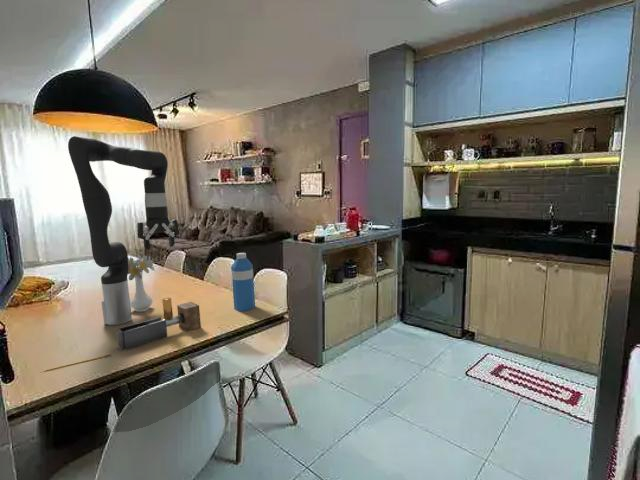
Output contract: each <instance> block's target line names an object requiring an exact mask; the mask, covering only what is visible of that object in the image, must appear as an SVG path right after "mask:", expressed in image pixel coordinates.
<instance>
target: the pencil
mask: <svg viewBox="0 0 640 480" xmlns="http://www.w3.org/2000/svg"><path fill="white" fill-rule="evenodd" d="M112 356H113V354H112V353H111V354H106V355H103V356H99V357H95V358H91V359H87V360H86V359H85V360H82V361H78V362H75V363H69V364H66V365H61V366H57V367H53V368H49V369H46V370H43V371H40V372H39V373H46V372H50V371H55V370H58V369H59V370H60V369H61V368H62V369H63V368H67V367H71V366H74V365H79V364H83V363H88V362H92V361H96V360H100V359H104V358H108V357H112Z"/></svg>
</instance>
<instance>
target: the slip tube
mask: <svg viewBox="0 0 640 480" xmlns="http://www.w3.org/2000/svg"><path fill="white" fill-rule="evenodd" d="M161 302H162V308H163V309H162V310H163V319H161V320H160V321H162V320H166V327H172V326H174V325H179V323H182V322H184V315H183V314H181V315H178V314H177V315H175V316H174V314H173V304H172V303H173V302H172V298H171V297H165V298H163V299H162V301H161ZM156 322H159V321H156ZM153 323H155V322H153ZM149 324H152V323H149Z"/></svg>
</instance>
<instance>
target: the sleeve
mask: <svg viewBox="0 0 640 480" xmlns="http://www.w3.org/2000/svg"><path fill="white" fill-rule="evenodd" d="M160 320H162V321H160ZM156 321H159V322H156ZM153 322H155V323H153ZM149 323H152V324H149ZM116 333H117V340H118V348H119V349H120V350H121V351H128V350H131V349H134V348H137V347H141V346H144V345H148V344H150V343H153V342H157V341H159V340H162V339H166V338H168V328H167V327H166V320H163V319H162V317H161V316H159V317H153V318H151V319H148V320H145V321H141V322H136V323H133V324H130V325H126V326H121V327H119V328H118V329H116Z"/></svg>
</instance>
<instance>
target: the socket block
mask: <svg viewBox="0 0 640 480" xmlns="http://www.w3.org/2000/svg"><path fill="white" fill-rule="evenodd" d="M176 308H177V316H178V315H181V314H183V315H184V322H182V323H178V327H179V329H181V330H183V331H185V332H190V331H193V330H197V329H200V328H202V325H201V323H202V322H201V310H200V305H199V304H197V303H195V302H193V301H188V302H185V303H180V304H177V305H176Z"/></svg>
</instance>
